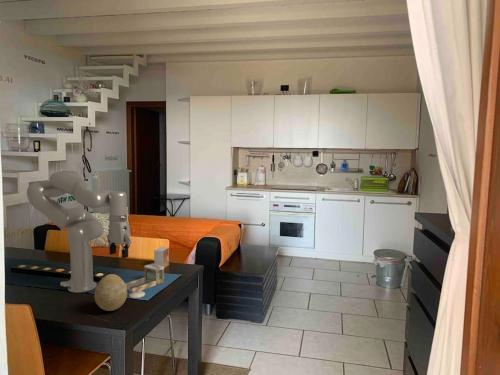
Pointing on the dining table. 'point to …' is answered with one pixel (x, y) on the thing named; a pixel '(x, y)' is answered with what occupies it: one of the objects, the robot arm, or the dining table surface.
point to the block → (153, 275)
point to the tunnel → (153, 268)
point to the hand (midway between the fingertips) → (118, 255)
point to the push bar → (137, 284)
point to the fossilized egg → (110, 292)
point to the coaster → (137, 294)
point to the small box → (161, 256)
